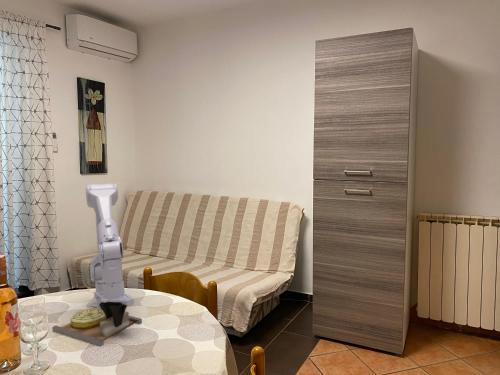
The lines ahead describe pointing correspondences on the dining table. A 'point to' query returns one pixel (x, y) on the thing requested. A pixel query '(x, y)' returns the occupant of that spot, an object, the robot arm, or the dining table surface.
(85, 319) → the decorated donut
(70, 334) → the rails
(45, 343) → the dining table surface
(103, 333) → the brown square board
